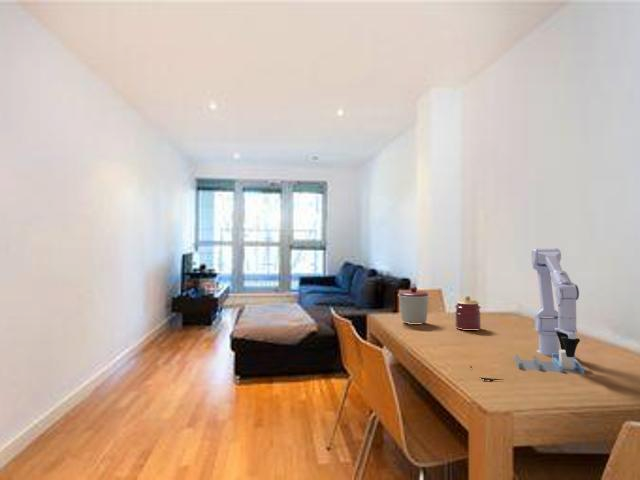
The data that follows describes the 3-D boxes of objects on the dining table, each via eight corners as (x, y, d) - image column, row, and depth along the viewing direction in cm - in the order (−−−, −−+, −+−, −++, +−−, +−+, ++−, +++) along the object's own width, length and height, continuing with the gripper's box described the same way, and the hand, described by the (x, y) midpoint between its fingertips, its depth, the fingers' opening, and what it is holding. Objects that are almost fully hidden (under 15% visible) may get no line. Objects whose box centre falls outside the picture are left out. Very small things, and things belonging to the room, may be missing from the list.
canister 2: (484, 331, 217) (484, 297, 217) (459, 331, 217) (459, 297, 217) (475, 326, 230) (475, 294, 230) (452, 326, 230) (451, 294, 230)
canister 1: (392, 322, 244) (391, 286, 244) (417, 319, 251) (416, 284, 251) (411, 328, 227) (410, 289, 227) (437, 324, 235) (436, 287, 235)
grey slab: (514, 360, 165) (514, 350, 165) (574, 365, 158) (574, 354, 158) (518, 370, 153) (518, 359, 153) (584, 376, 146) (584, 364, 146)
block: (559, 365, 156) (558, 349, 156) (571, 366, 154) (571, 350, 154) (561, 368, 152) (561, 352, 152) (574, 369, 150) (573, 353, 150)
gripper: (550, 313, 161) (551, 348, 161) (559, 320, 147) (559, 358, 147) (571, 313, 159) (572, 349, 159) (582, 321, 145) (582, 360, 145)
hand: (567, 354), depth 153 cm, fingers open, 7 cm apart
